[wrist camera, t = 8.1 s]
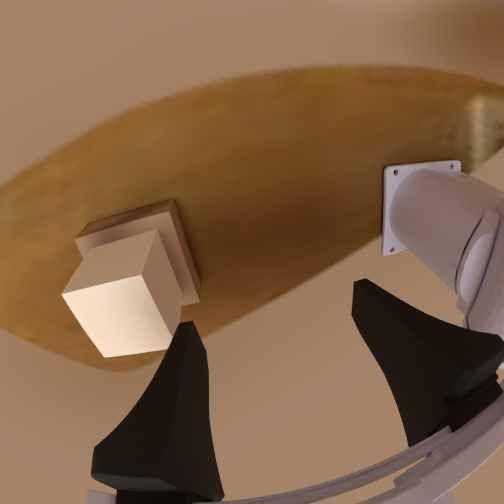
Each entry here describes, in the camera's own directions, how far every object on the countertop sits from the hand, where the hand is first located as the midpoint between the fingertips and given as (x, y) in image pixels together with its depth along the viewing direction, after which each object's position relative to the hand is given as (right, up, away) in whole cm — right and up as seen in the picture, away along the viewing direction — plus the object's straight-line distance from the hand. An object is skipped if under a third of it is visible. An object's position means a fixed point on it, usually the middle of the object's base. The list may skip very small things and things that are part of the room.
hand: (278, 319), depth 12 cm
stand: (-9, +3, +8) cm, 12 cm away
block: (-9, +2, +6) cm, 11 cm away
